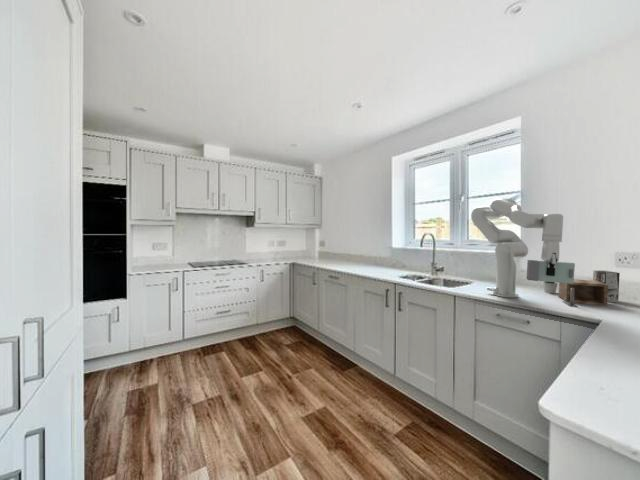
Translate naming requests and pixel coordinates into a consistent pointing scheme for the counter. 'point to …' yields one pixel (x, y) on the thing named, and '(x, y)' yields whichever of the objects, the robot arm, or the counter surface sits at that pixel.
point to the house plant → (550, 287)
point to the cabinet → (584, 292)
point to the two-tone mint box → (562, 275)
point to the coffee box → (609, 283)
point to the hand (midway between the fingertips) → (549, 274)
